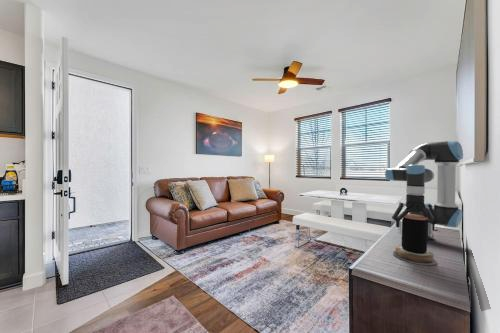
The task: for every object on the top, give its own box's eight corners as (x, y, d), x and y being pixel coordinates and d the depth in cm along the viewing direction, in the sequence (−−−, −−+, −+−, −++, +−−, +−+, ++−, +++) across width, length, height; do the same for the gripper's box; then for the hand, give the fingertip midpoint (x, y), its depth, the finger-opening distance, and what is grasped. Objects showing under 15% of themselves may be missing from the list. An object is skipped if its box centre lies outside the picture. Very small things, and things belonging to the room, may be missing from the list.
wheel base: (409, 249, 125) (409, 247, 125) (445, 263, 108) (445, 260, 108) (385, 252, 120) (385, 250, 120) (419, 267, 102) (419, 264, 102)
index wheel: (391, 249, 124) (391, 233, 124) (424, 252, 119) (424, 236, 119) (402, 260, 108) (402, 242, 108) (440, 265, 104) (440, 246, 104)
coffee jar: (420, 247, 118) (420, 214, 118) (431, 255, 107) (432, 219, 107) (397, 245, 120) (398, 213, 120) (407, 253, 110) (408, 217, 110)
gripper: (440, 194, 114) (439, 235, 114) (385, 192, 121) (385, 230, 121) (448, 196, 107) (447, 239, 107) (390, 193, 114) (389, 234, 114)
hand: (414, 234), depth 114 cm, fingers open, 13 cm apart
